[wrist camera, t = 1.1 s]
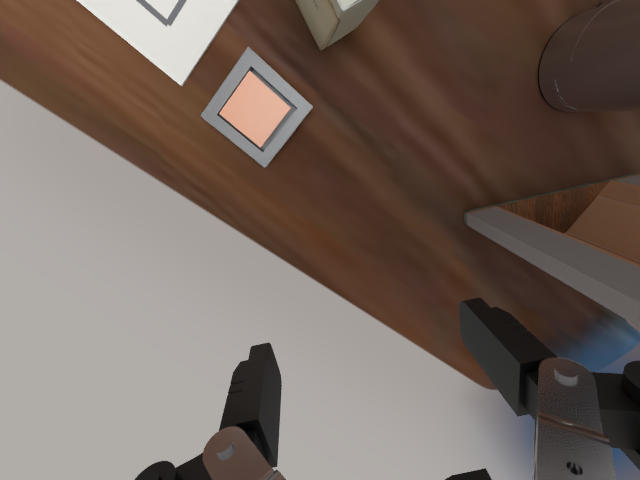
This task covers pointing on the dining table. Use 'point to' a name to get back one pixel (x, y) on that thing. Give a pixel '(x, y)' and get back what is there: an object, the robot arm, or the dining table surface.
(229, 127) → the button housing
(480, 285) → the dining table surface
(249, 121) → the button
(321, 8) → the skincare box
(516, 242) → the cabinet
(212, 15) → the paper sheet
